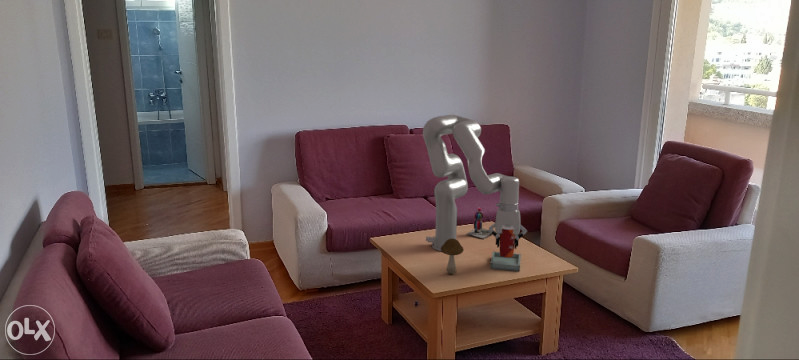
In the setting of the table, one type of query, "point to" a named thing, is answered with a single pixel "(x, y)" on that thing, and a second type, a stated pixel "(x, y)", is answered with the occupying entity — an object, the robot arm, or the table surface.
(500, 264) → the tray
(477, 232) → the statue
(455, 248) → the mushroom
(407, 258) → the table surface
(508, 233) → the paper cup
